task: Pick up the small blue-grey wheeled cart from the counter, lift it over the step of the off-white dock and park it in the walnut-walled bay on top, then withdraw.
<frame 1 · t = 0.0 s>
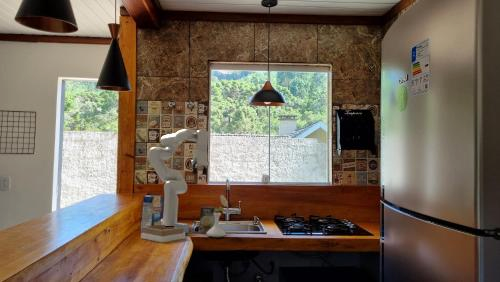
hand: (199, 174, 230), 37 cm above the counter, tool pointing down, fingers open, 9 cm apart
beverage box: (150, 233, 209), on the counter
cart: (180, 233, 211), on the counter
dock: (163, 238, 194), on the counter
coffee box: (206, 233, 221), on the counter
flower in vase: (216, 236, 209), on the counter
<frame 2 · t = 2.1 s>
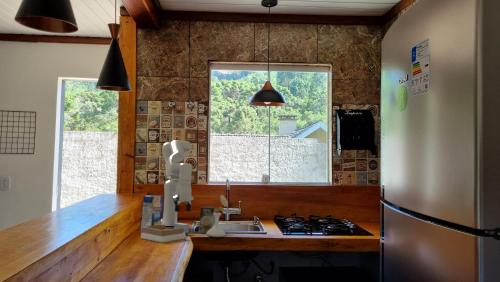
hand: (182, 211, 212), 14 cm above the counter, tool pointing down, fingers open, 9 cm apart
nothing on the counter moved.
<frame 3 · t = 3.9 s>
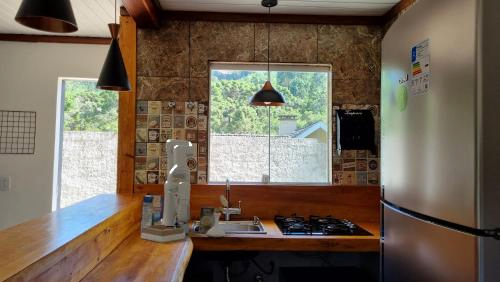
hand: (180, 232, 211), 1 cm above the counter, tool pointing down, fingers closed on cart, 5 cm apart
cart: (180, 233, 211), on the counter, touching gripper
everything else where it was.
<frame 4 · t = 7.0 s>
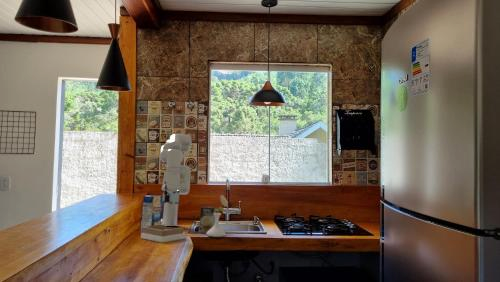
hand: (170, 201, 200), 20 cm above the counter, tool pointing down, fingers closed on cart, 5 cm apart
cart: (170, 203, 199), point 19 cm above the counter, touching gripper
everything else where it was.
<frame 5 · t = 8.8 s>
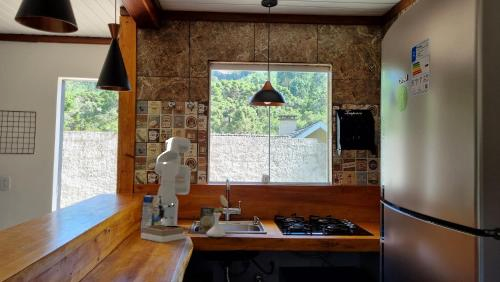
hand: (165, 216, 195), 12 cm above the counter, tool pointing down, fingers closed on cart, 5 cm apart
cart: (165, 218, 195), point 11 cm above the counter, touching gripper
everything else where it was.
when the fingers open (6 cm above the counter, at t = 10.4 s): cart drops 1 cm, resting on dock.
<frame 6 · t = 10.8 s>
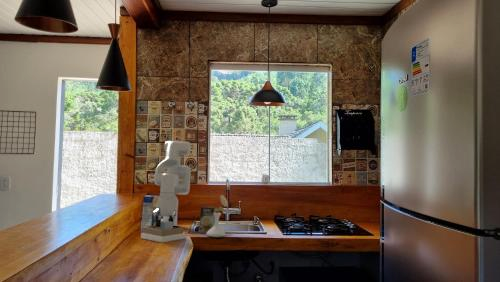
hand: (164, 226, 195), 7 cm above the counter, tool pointing down, fingers open, 9 cm apart
cart: (163, 232, 194), point 3 cm above the counter, touching dock
everything else where it was.
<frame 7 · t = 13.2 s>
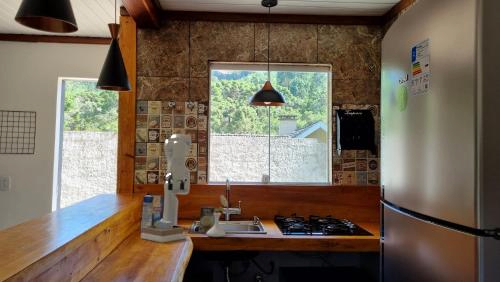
hand: (176, 189, 210), 26 cm above the counter, tool pointing down, fingers open, 9 cm apart
nothing on the counter moved.
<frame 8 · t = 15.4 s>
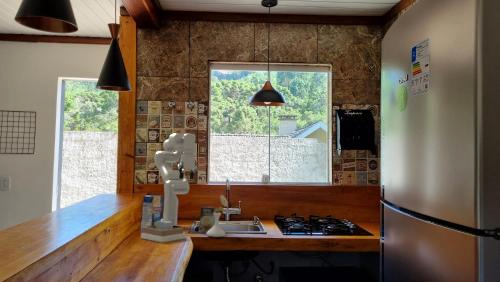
hand: (186, 178, 225), 33 cm above the counter, tool pointing down, fingers open, 9 cm apart
nothing on the counter moved.
at the end: cart inside the target area on the dock (0.0 cm from its centre), point 3.2 cm above the dock's base; cart tilted 0°; the gripper is holding nothing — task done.
